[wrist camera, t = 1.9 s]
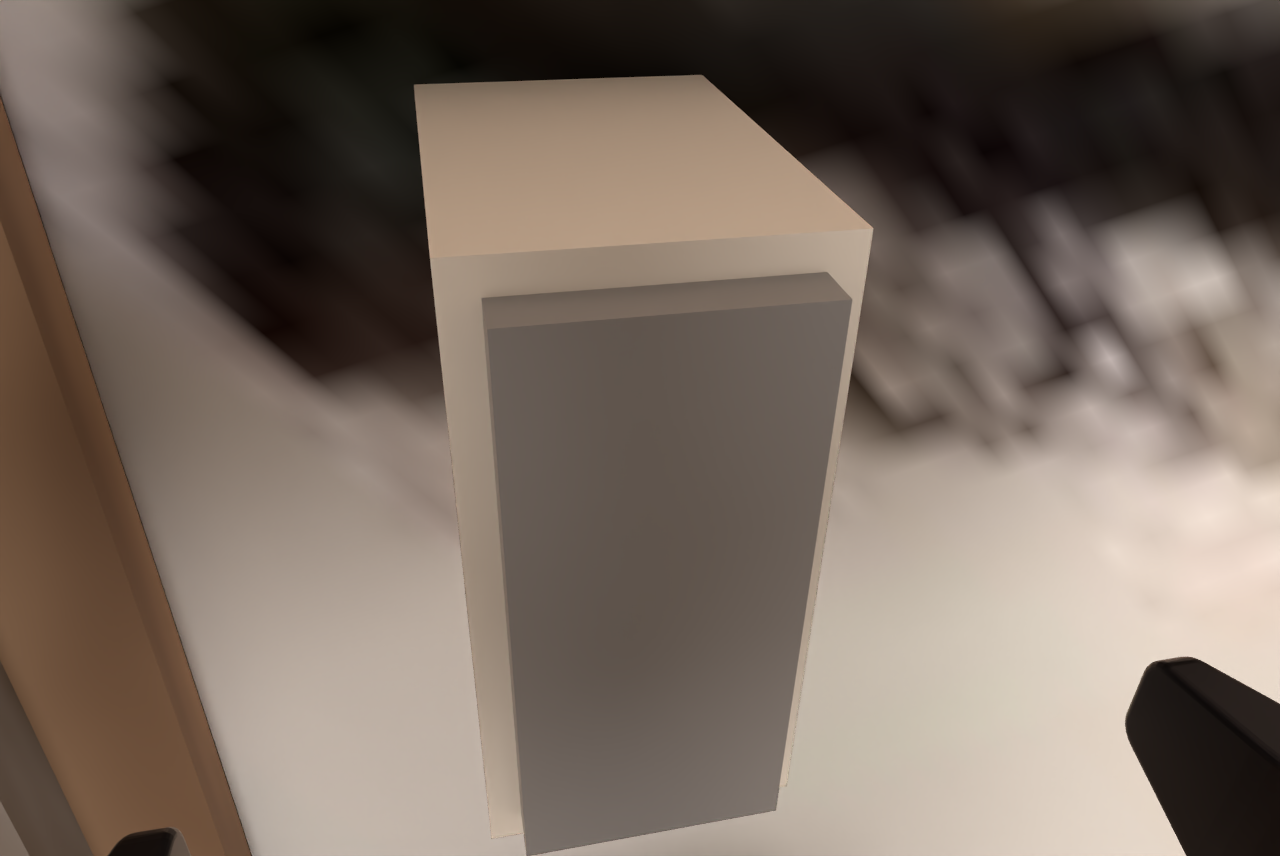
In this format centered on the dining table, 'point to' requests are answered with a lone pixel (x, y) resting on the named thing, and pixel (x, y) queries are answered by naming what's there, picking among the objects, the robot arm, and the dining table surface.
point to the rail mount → (82, 598)
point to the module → (635, 439)
